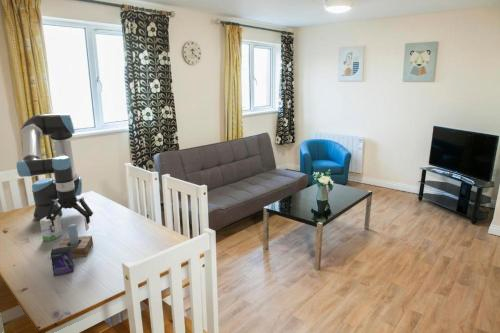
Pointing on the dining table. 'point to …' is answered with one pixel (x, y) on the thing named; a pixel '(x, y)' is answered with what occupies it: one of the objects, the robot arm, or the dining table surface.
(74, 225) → the peg
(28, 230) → the dining table surface
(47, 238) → the ink box
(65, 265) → the box
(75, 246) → the socket
